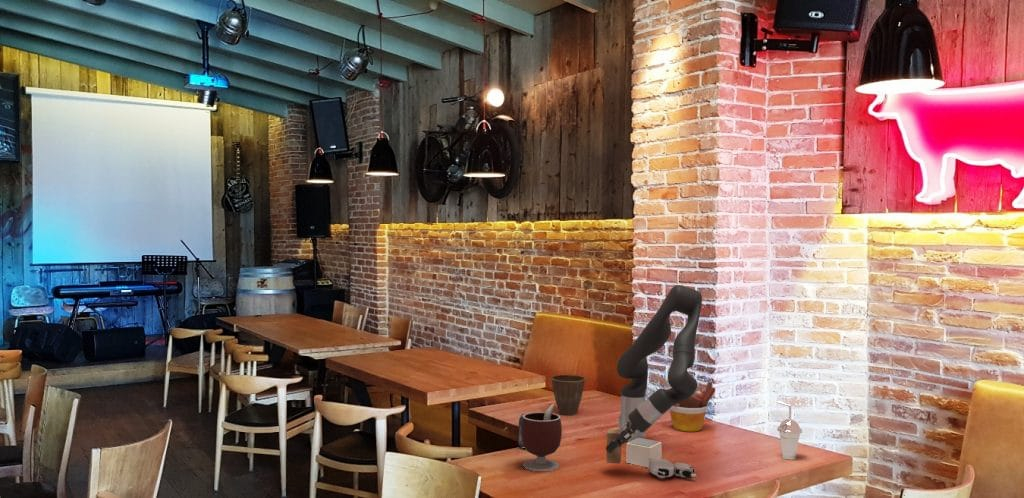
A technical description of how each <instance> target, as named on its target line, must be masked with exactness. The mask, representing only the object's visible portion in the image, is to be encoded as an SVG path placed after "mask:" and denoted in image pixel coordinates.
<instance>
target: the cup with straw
mask: <svg viewBox="0 0 1024 498" xmlns="http://www.w3.org/2000/svg"><path fill="white" fill-rule="evenodd" d="M775 403H777V404H780V405H784V406H787V407H788V411H789V412H788V413H789V414H788V418H786V419H784V420H782V421H781V422H780V424H779V426H777V428H776V430H777V432H779V437H780V447H781V454H782V458H783V459H784V460H796V458H797V452H798V445H799V440H800V435H801V434H802V433H803V430H802V428H800V425H799V423H798V422H797V421H795V420H794V419H792V405H791V404H789V403H785V402H784V401H783V402H782V401H779V400H775Z"/></svg>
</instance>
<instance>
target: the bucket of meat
mask: <svg viewBox="0 0 1024 498" xmlns="http://www.w3.org/2000/svg"><path fill="white" fill-rule="evenodd" d="M670 388H672V387H671V386H670V385H669V388H668V387H667V388H665V389H666V390H667V389H670ZM715 392H716V389H715V387H713V383H712V381H707V384H706V388H705V391H704V390H702V391H701V390H698V391H697V390H696V391H695V393H694V394H693V395H692V396H690V397H689V398H687V399H686V400H684V401H682V402H680V403H678V404H676V405H674V406H672V407H671V408H670V409H669V413H670V417H671V423H672V427H673V428H674V429H675V430H676V431H679V432H684V433H695V432H699V431H700V430H702V429H703V425H704V422H705V418H706V414H707V410H708V402H710V399H711V398H712V396H713V395H714V393H715Z"/></svg>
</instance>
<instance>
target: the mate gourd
mask: <svg viewBox="0 0 1024 498" xmlns="http://www.w3.org/2000/svg"><path fill="white" fill-rule="evenodd" d="M555 405H556V403H551V405H550V406H549V407H548V408H547V409H546V410H545V412H543V411H542V412H541V411H534V412H527V413H523V414H524V415H523V420H522V425H521V438H522V443H523V446H524V447H525V449H524V450H526V452H527V453H529V454H532V455H534V456H536V458H535V459H528V460H526V461H524V462H523V463H522V467H523V466H524V467H525V468H526V469H525V468H524V467H523V468H524V469H525V470H527V469H529V470H528V471H530V470H533V471H532V472H535V471H550V472H552V471H551V470H554V469H556V468H558V467H559V468H560V465H559V463H558V462H557V461H554V460H551V459H547V458H546V457H547V456H549V455H552V454H554V453H556V451H557V450H558V448H559V447H560V446H561V441H562V436H563V435H562V431H563V430H562V429H563V427H562V420H561V416H560V414H557V413H553V409H554V406H555ZM559 468H558V469H559ZM554 471H555V470H554Z"/></svg>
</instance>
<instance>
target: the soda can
mask: <svg viewBox="0 0 1024 498" xmlns="http://www.w3.org/2000/svg"><path fill="white" fill-rule="evenodd" d="M524 414H525V413H521V414H520V417H519V419H518V446H519V448H520V449H522V447H524V446H523V443H522V438H521V425H522V420H523V415H524Z"/></svg>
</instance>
